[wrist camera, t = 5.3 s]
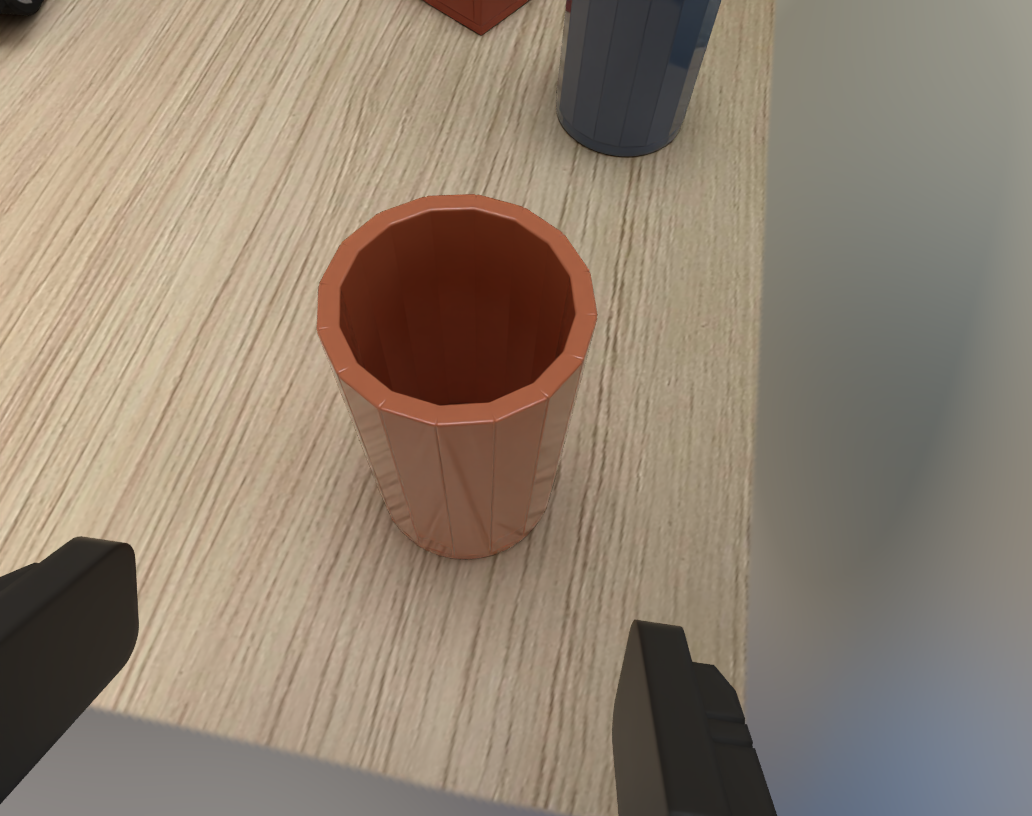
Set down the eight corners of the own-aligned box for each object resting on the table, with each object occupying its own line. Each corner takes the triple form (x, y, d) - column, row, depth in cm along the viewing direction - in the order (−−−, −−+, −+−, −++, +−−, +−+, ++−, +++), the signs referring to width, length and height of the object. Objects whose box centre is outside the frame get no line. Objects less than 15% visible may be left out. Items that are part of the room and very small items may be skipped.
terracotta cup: (586, 467, 26) (649, 289, 16) (474, 597, 24) (469, 483, 14) (461, 370, 28) (448, 155, 18) (345, 483, 25) (257, 309, 15)
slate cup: (707, 107, 35) (774, -89, 27) (633, 177, 32) (684, -15, 24) (606, 49, 36) (641, -152, 28) (530, 112, 34) (544, -88, 26)
